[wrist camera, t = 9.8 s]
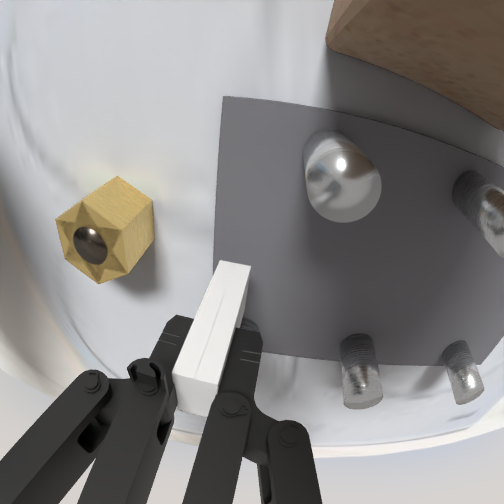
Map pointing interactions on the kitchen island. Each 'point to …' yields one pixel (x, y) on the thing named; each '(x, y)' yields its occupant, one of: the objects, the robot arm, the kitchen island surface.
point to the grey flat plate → (354, 240)
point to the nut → (107, 230)
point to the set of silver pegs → (359, 205)
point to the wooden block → (430, 46)
